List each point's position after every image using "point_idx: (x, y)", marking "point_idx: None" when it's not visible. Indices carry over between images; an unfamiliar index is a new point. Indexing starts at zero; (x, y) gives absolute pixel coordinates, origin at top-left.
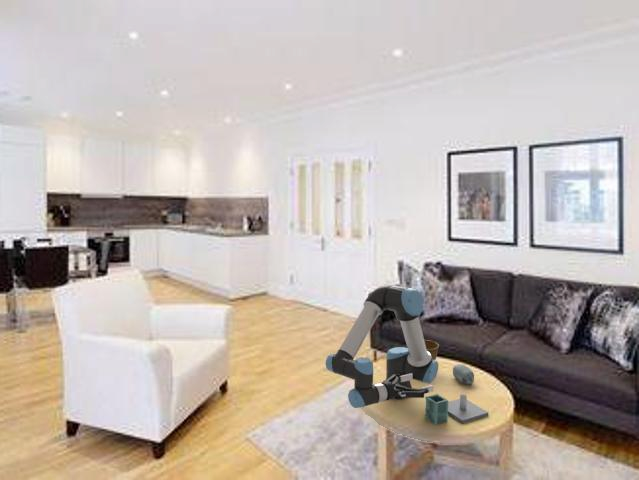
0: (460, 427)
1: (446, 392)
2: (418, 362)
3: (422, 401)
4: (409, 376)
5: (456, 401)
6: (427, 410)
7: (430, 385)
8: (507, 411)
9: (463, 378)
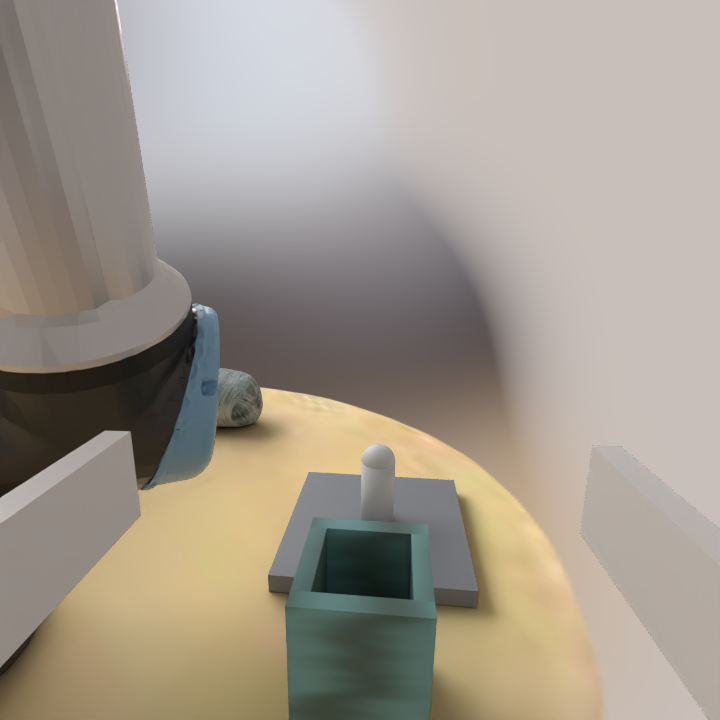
0: (514, 645)
1: (213, 485)
2: (101, 321)
3: (146, 610)
4: (95, 492)
5: (311, 502)
6: (315, 705)
7: (623, 464)
8: (453, 449)
9: (236, 407)
